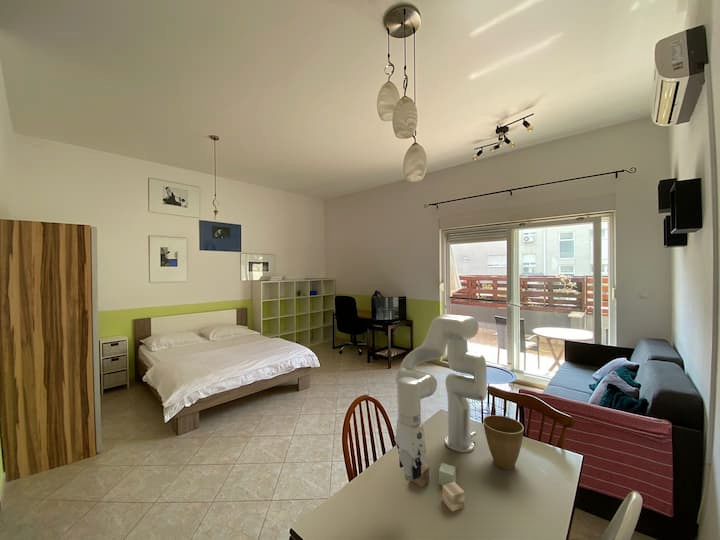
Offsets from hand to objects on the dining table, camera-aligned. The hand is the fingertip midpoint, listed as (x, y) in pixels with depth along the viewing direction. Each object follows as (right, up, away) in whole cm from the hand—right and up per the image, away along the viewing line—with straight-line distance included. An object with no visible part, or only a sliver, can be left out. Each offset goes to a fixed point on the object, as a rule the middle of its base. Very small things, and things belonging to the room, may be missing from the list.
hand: (410, 471), depth 95 cm
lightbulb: (0, -3, 0) cm, 3 cm away
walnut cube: (+6, -12, +12) cm, 18 cm away
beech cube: (+15, -12, +1) cm, 19 cm away
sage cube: (+16, -12, +11) cm, 23 cm away
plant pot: (+42, -12, +22) cm, 49 cm away
